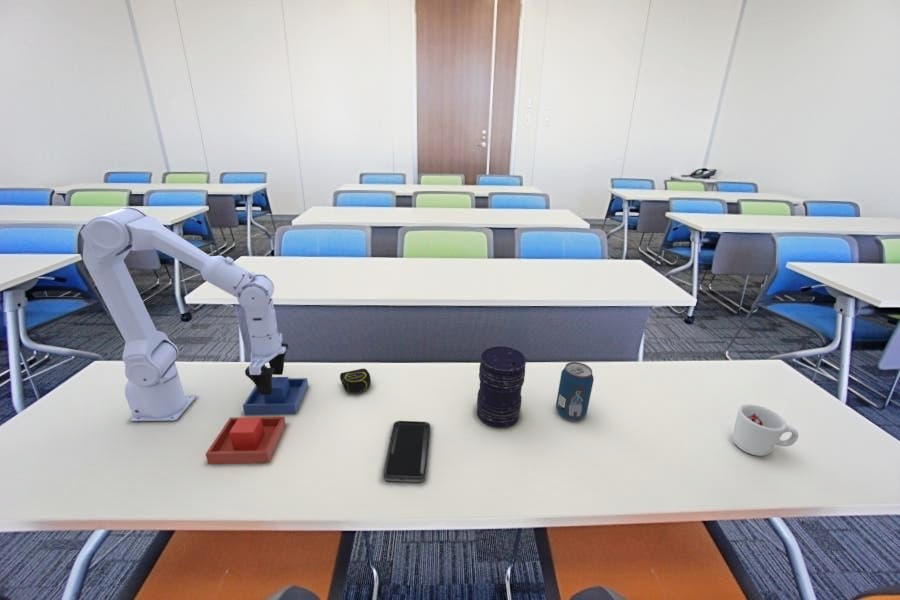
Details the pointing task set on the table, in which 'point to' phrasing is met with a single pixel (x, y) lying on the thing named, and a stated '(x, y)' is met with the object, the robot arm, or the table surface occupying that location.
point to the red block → (247, 433)
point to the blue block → (278, 391)
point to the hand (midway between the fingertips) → (272, 383)
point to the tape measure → (355, 380)
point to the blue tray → (258, 406)
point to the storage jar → (500, 386)
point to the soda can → (574, 391)
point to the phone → (407, 452)
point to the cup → (760, 430)
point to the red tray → (225, 454)
